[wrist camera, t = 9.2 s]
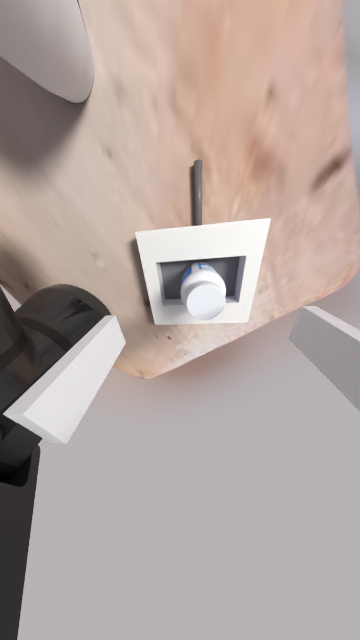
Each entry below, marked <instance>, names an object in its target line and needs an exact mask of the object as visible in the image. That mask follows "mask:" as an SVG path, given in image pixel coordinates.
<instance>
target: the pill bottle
mask: <svg viewBox="0 0 360 640" xmlns="http://www.w3.org/2000/svg"><path fill="white" fill-rule="evenodd" d="M225 295H226V287H225V283H224V281H223V279H222V278H221V277H220V275H219V274H218V273H217V272H216V271H215V270H214V268H213V267H212V266H211V265H209V264H207V263H204V262H196V263H193V264H191V265H190V266H189V267H188V268H187V269H186V270H185V272H184V274H183V278H182V285H181V299H182V302H183V304H184V305H185V307H186V308H187V310H188V312H189V313H190V314H191V315H192V316H193V317H195V318H197V319H199V320H210V319H213V318H215V317H217V316H218V315H219V314H220V313H221V312H222V311H223V309H224V307H225V303H226V299H225Z"/></svg>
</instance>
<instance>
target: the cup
mask: <svg viewBox="0 0 360 640" xmlns="http://www.w3.org/2000/svg"><path fill="white" fill-rule="evenodd" d="M0 57H2V58H3V59H4V60H6V61H7V62H8V63H10V64H11V65H12V66H14V67H15V68H17V69H18V70H19V71H21V72H22V73H23V74H25V75H26V76H28V77H29V78H30V79H32V80H33V81H34V82H36V83H37V84H38V85H40V86H41V87H43V88H44V89H46V90H47V91H49V92H51V93H53V94H55V95H58V96H60V97H62V98H64V99H66V100H68V101H70V102H73V103H81V102H83V101H84V100H86V99H87V97H88V96H89V94H90V92H91V90H92V87H93V82H94V60H93V54H92V49H91V45H90V42H89V38H88V34H87V31H86V27H85V24H84V20H83V17H82V13H81V9H80V6H79V2H78V0H0Z"/></svg>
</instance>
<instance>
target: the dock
mask: <svg viewBox="0 0 360 640" xmlns="http://www.w3.org/2000/svg"><path fill="white" fill-rule="evenodd" d="M194 194H195V226H189V227H179V228H169V229H160V230H150V231H140V232H135V234H136V239H137V244H138V248H139V253H140V258H141V262H142V267H143V272H144V276H145V281H146V286H147V290H148V295H149V300H150V304H151V309H152V314H153V318H154V323H155V325H170V324H205V323H240V322H248V320H249V316H250V311H251V307H252V302H253V297H254V293H255V288H256V284H257V279H258V275H259V270H260V265H261V261H262V256H263V252H264V247H265V243H266V238H267V234H268V229H269V224H270V220H271V218H266V219H257V220H247V221H237V222H227V223H218V224H208V225H202V160H196V161H194ZM196 262H204V263H207V264H209V265H211V266H212V267H213V268H214V270H215V271H216V272H217V273H218V274H219V275H220V277H221V278H222V279H223V281H224V283H225V287H226V295H225V299H226V303H225V307H224V309H223V311H222V312H221V313H220V314H219V315H218V316H217V317H215V318H213V319H210V320H199V319H197V318H195V317H193V316H192V315H191V314H190V313H189V312H188V310H187V308H186V307H185V305H184V304H183V302H182V299H181V285H182V278H183V274H184V272H185V270H186V269H187V268H188V267H189V266H190V265H191V264H193V263H196Z"/></svg>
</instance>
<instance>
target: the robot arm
mask: <svg viewBox="0 0 360 640" xmlns="http://www.w3.org/2000/svg"><path fill="white" fill-rule="evenodd" d="M289 340H291V342H292V343H293V344H294V345H295V346H296V347H297V348H298V349H299V350H300V351H301V352H302V353H303V354H304V355H305V356H306V357H307V358H308V359H309V360H310V361H311V362H312V363H313V364H314V365H315V366H316V367H317V368H318V369H319V370H320V371H321V372H322V373H323V374H324V375H325V376H326V377H327V378H328V379H329V380H330V381H331V382H332V383H333V384H334V385H335V386H336V387H337V389H339V390H340V392H341V393H342V394H344V396H345V397H346V398H347V399H348V400H349V401H350V402H351V403H352V404H353V405H354V406H355V407H356V408H357V409H358V410H359V411H360V330H358V329H356V328H355V327H353V326H351V325H349V324H347V323H345V322H344V321H342V320H340V319H338V318H336V317H334V316H332V315H330V314H329V313H327V312H325V311H323V310H322V309H320V308H318V307H316V306H304V307H302V309H301V312H300V314H299V316H298V318H297V321H296V323H295V325H294V328H293V330H292V332H291V334H290V336H289ZM125 344H126V342H125V339H124V336H123V334H122V331H121V329H120V326H119V323H118V321H117V318H116V316H115V315H111V313H110V312H109V310H108V309H107V308H106V306H105V305H104V304H103V303H102V302H101V301H100V300H99V299H97V298H96V297H95V296H94V295H92V294H91V293H89V292H87V291H85V290H83V289H81V288H78V287H75V286H72V285H66V284H58V285H53V286H50V287H47V288H44V289H42V290H40V291H38V292H36V293H35V294H34V295H33V296H32V297H30V298H29V299H28V300H27V301H26V302H25V303H24V304H23V305H22V306H21V307H20V308H18V309H17V310H16V311H15V312H14V311H13V309H12V307H11V305H10V303H9V302H8V300H7V298H6V296H5V294H4V292H3V290H2V289H1V287H0V640H17V636H18V628H19V620H20V611H21V604H22V594H23V587H24V580H25V572H26V562H27V554H28V547H29V539H30V530H31V523H32V515H33V507H34V498H35V491H36V482H37V474H38V466H39V458H40V447H39V446H38V444H39V442H40V441H41V440H42V439H44V440H46V441H48V442H49V443H50V444H67V443H68V441H69V439H70V437H71V436H72V434H73V432H74V431H75V429H76V427H77V425H78V424H79V422H80V420H81V419H82V417H83V415H84V414H85V412H86V410H87V408H88V407H89V405H90V403H91V402H92V400H93V398H94V397H95V395H96V393H97V391H98V390H99V388H100V386H101V385H102V383H103V381H104V379H105V378H106V376H107V374H108V373H109V371H110V369H111V368H112V366H113V364H114V363H115V361H116V359H117V357H118V356H119V354H120V352H121V351H122V349H123V347H124V345H125Z"/></svg>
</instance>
